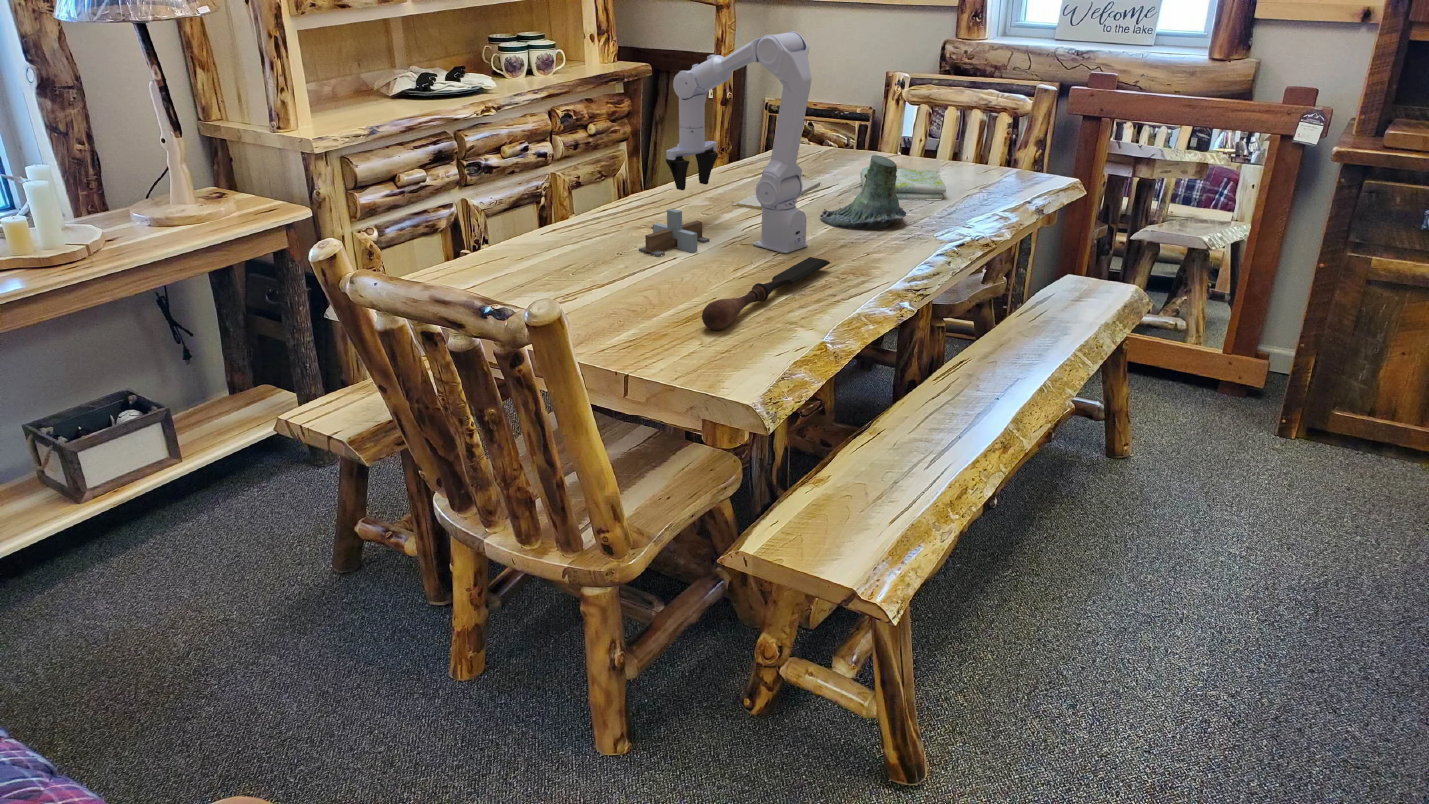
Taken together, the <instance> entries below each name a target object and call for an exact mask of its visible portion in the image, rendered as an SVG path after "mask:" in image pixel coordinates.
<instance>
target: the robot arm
mask: <svg viewBox="0 0 1429 804" xmlns="http://www.w3.org/2000/svg"><path fill="white" fill-rule="evenodd" d="M809 53H810V46H809V44H808V43H807V40H805V37H803V35H802V34H801V33H799V32H797V31H793V30H792V31H787V32H785V33H784V32H783V33H778V34H765V35H763V36H762V37H758V38H755V39H753V40H751V41H749V42H748V43H747V44H745V45H743V46H741V47H739V48H738V49H737V50H735V51H733V52H732V53H729V54H728V55H726V56H723V55H720V54H717V55H716V54H709V55H708V56H707V57H706V60H705V61H703V62H701V63H700V64H699V63H695V64H693V65H691V68H690V70H680V71H679V72H678V73H677V74H675V76H674V77H673V82H672V85H673V86H672V87H673V91H674V93H675V94H676V96H677V97H678V126H679V127H678V128H679V129H678V132H679V134H678V135H679V136H678V139H679V141H678V142H679V143H677V144H676V145H677V146H674V147H672V148H670V149H667V150H666V151H665V152H666V155H665V156H666V157H665V162H666V164H667V166H668V167H669V170H670V171H671V174H672V177H673V179H674V183H675V187H676V190H679V191H685V189H686V185H687V172H688V167H689V164H690V161H689V160H686V159H685V157H688V156H693V155H694V156H695V159H696V163H697V169H698V170H697V171H698V182H699V184H702V185H708V184H709V180H710V177H711V173H712V170H713V166H714V164H715V162H716V161H717V159H718V157H719V154H718V152H716V151H718V141H713V140H708V141H705V140H706V139H705V138H706V137H705V136H706V135H705V134H706V133H705V132H706V131H705V129H706V125H705V123H706V122H705V121H706V111H705V109H706V107H705V105H706V102H707V95H708V93H709V92H710V90H712V89H714V88H717V87H719V86H720V85H722V84H724V83H726V82H728V81H729V80H730V79H731V77H732V73H733V72H734V71H737V70H739V69H741V68H744V67H745V66H747V65H751V64H752V63H759V64H760V65H762V66H763V67H764V68H765V69H766V70H767V71H768V72H770V73H771V74H772V75H773V76H775V77H776V78H777V80H779V81H780V83H781V85H782V92H781V97H780V98H781V99H780V103H779V109H778V113H777V114H778V115H777V120H776V127H775V133H774V139H773V145H772V150H771V156H770V160H769V162H768V163H767V164H766V166H765V167H764V169H763V170H762V173H761V177H760V179H759V181H758V182H757V184H756V187H755V194H756V197H757V199H758V201H759V202H760V204H761V207H762V210H761V233H760V234H761V235H760V236H761V237H760V238H761V239H760V240H758V241H754V242H752V245H753V246H756V247H759V248H763V249H767V250H771V251H774V252H778V253H780V254H781V253H782V254H788V253H793V252H794V251H796V250H800V249H803V248H806V247H808V246H809V245H808V243H806V240H807V239H806V238H807V215H806V213H805V212H804V211H802V210H801V209H799V208H797V205H796V204H798V202H797V201H798V198H799V197H800V196H802V195H801V193H802V189H803V185H802V180H803V179H802V172H803V170H802V167H800V165H798V163H797V161H798V156H799V150H800V144H801V141H802V135H803V127H804V123H805V117H806V112H807V107H808V102H809V96H810V90H811V85H812V74H811V67H810V64H809V63H810V62H809Z"/></svg>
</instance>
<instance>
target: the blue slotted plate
mask: <svg viewBox="0 0 1429 804" xmlns="http://www.w3.org/2000/svg"><path fill="white" fill-rule="evenodd" d="M682 225H683V211H682V210H679V209H675V208H669V209H667V210H666V224H663V223H661V222H656V223H652V233H655V232H659V231H662V230H666V229H667V230H671V231H672V238H674V239H677V243H678V247H677V250H681V251H684V252H687V253H691V254H693V253H696V251H697V252H698V242H697V233H694V232H691V231H687V230H683V229H682Z"/></svg>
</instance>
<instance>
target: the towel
mask: <svg viewBox="0 0 1429 804" xmlns="http://www.w3.org/2000/svg"><path fill="white" fill-rule="evenodd" d="M868 169H869V166H867V167H864V168H863V169H862V170H861V171H860V181H861V182H860V183H861V186H862V188H863V187H864V184H865V181H866V178H865V177H864V175H865V174H866V173H867V172H868V171H867V170H868ZM896 176H897V178H896V184H895V192H896V195H897V198H898V199H942V198H943V199H944V194H943V193H946V192H947V187H946V184H945V182H944V181H943V179H942V178H941V175H940V174H939V173H938V172H936V171H934V170H925V169H924V170H923V169H922V170H919V169H918V170H917V169H909V168H898V167H897V172H896ZM943 199H942V200H943Z"/></svg>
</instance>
